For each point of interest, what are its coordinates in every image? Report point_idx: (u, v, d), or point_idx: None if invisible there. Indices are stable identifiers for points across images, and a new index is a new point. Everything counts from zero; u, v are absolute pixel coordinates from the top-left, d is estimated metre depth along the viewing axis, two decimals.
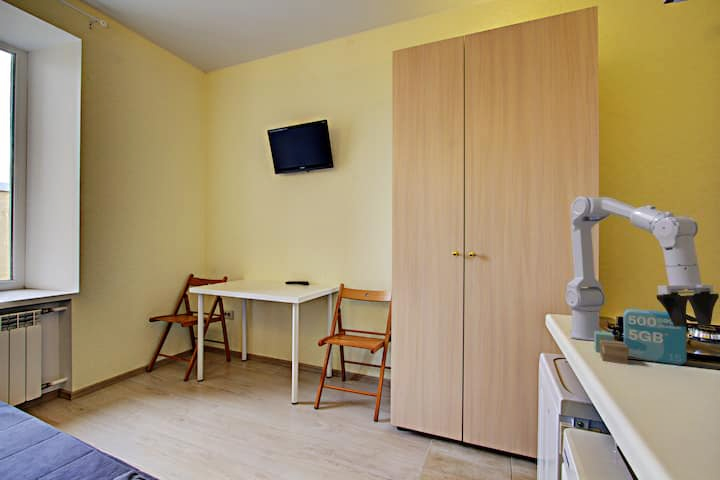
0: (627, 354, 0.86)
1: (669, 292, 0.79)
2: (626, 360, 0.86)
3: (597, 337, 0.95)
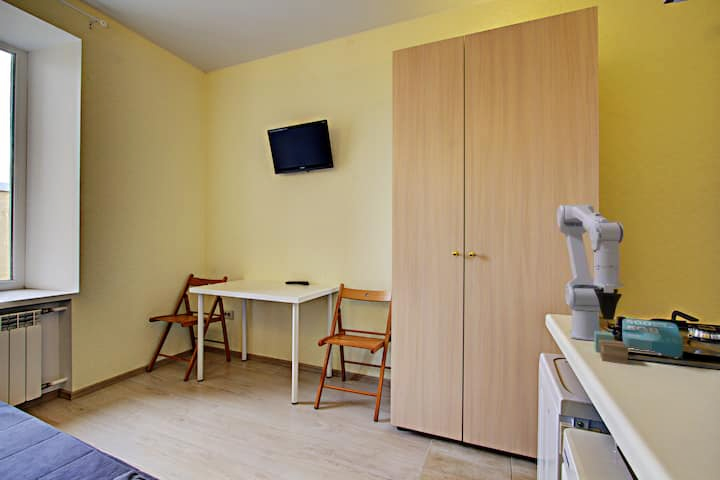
0: (626, 354, 0.86)
1: (613, 291, 0.89)
2: (626, 360, 0.86)
3: (597, 337, 0.95)
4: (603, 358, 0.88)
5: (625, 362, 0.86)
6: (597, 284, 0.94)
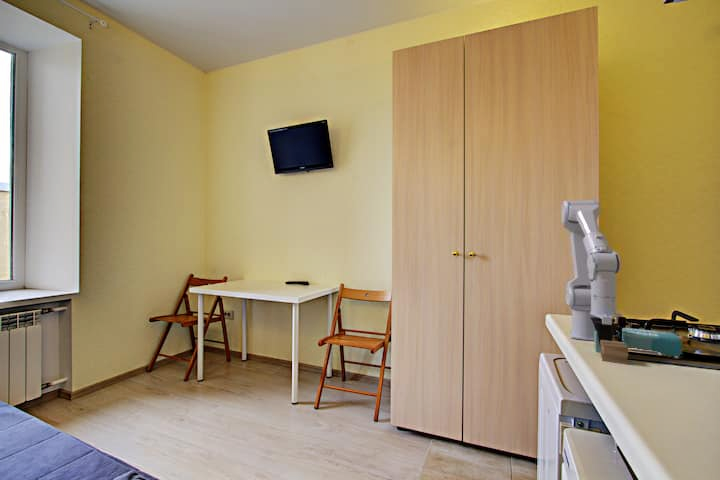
0: (626, 354, 0.86)
1: (611, 323, 0.90)
2: (626, 360, 0.86)
3: (597, 337, 0.95)
4: (603, 358, 0.88)
5: (625, 362, 0.86)
6: (595, 314, 0.95)
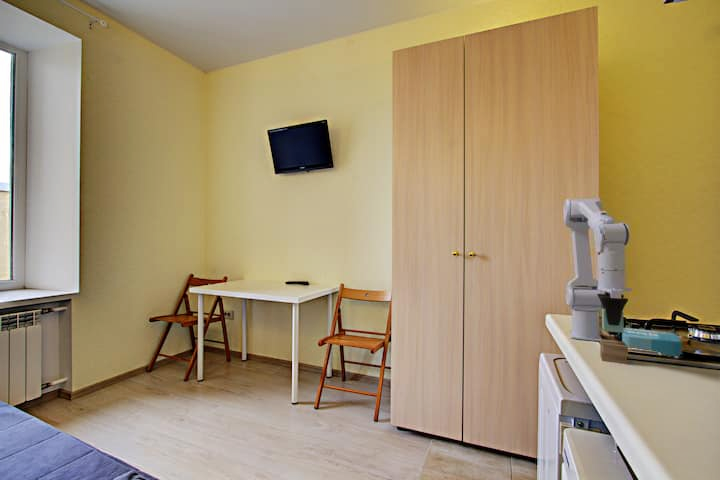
0: (626, 354, 0.86)
1: (621, 296, 0.84)
2: (625, 360, 0.86)
3: (605, 314, 0.89)
4: (602, 358, 0.88)
5: (624, 362, 0.86)
6: (602, 289, 0.89)
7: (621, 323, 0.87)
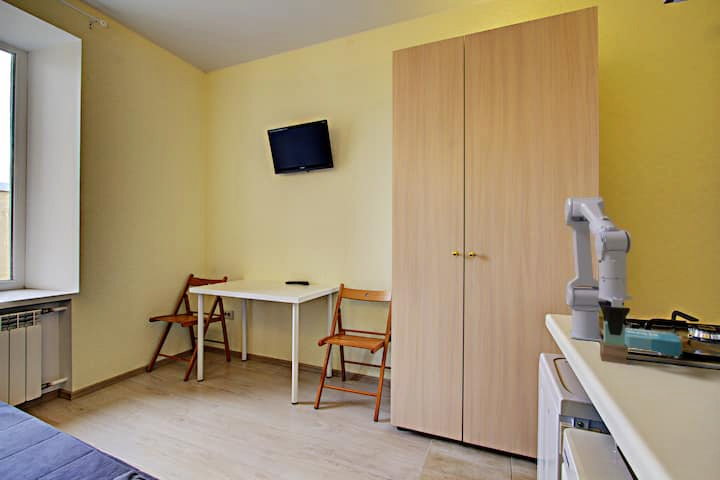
0: (626, 354, 0.86)
1: (622, 305, 0.83)
2: (625, 360, 0.86)
3: (606, 327, 0.88)
4: (602, 358, 0.88)
5: (624, 362, 0.86)
6: (603, 297, 0.88)
7: (622, 336, 0.86)
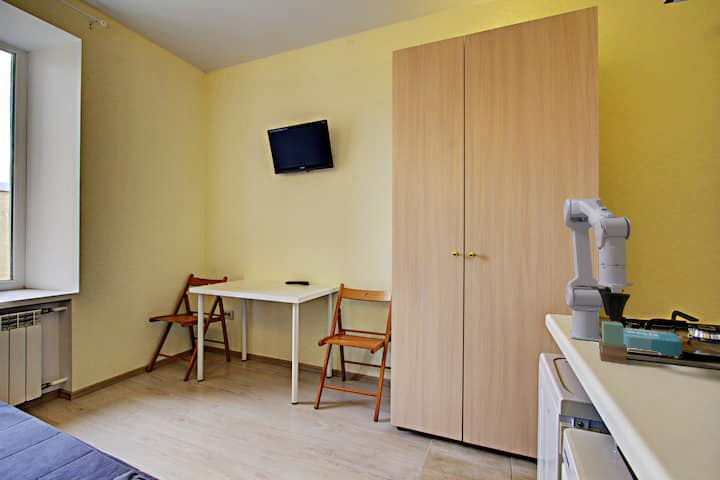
0: (625, 354, 0.86)
1: (621, 291, 0.83)
2: (624, 360, 0.86)
3: (605, 327, 0.88)
4: (602, 358, 0.88)
5: (624, 362, 0.86)
6: (603, 284, 0.88)
7: (621, 336, 0.86)
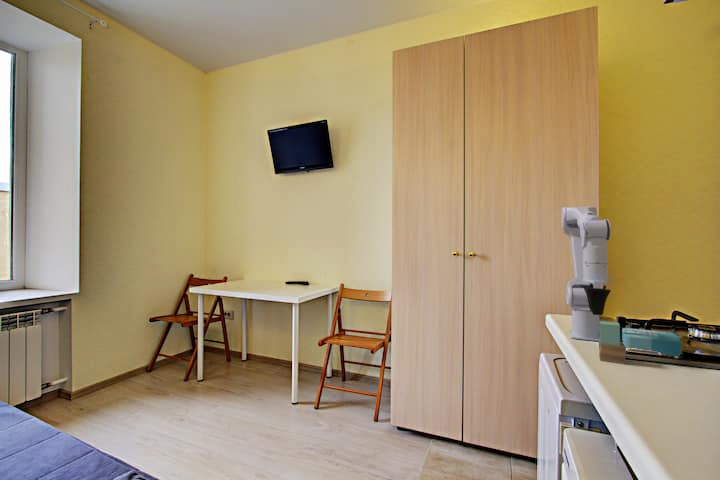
0: (624, 354, 0.86)
1: (602, 287, 0.91)
2: (623, 360, 0.86)
3: (601, 327, 0.88)
4: (601, 358, 0.88)
5: (623, 362, 0.86)
6: (586, 280, 0.96)
7: (617, 336, 0.87)
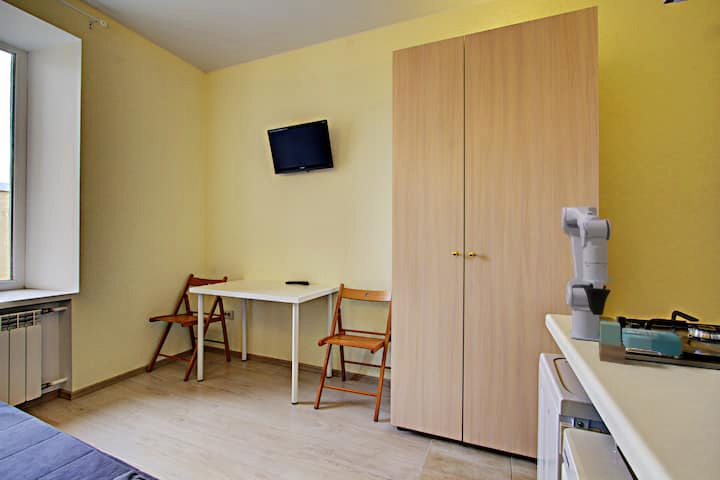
0: (624, 354, 0.86)
1: (602, 287, 0.91)
2: (623, 360, 0.86)
3: (602, 327, 0.88)
4: (600, 358, 0.88)
5: (622, 362, 0.86)
6: (586, 280, 0.96)
7: (618, 336, 0.86)
